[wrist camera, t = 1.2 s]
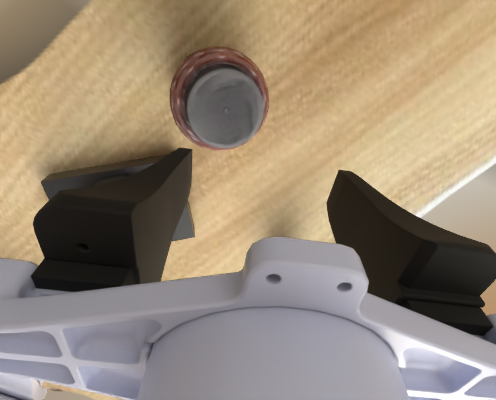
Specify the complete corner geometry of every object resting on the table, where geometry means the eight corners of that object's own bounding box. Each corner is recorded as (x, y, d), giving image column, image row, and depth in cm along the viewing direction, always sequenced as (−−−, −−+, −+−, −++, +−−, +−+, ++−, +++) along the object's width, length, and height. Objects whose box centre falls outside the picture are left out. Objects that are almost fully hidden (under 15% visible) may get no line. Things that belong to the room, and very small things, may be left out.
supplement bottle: (159, 77, 24) (137, 90, 14) (220, 32, 23) (243, 13, 13) (203, 137, 26) (211, 185, 16) (258, 99, 26) (302, 125, 16)
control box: (84, 248, 29) (71, 271, 26) (50, 173, 25) (30, 189, 22) (194, 227, 30) (194, 246, 27) (177, 153, 27) (175, 165, 24)
